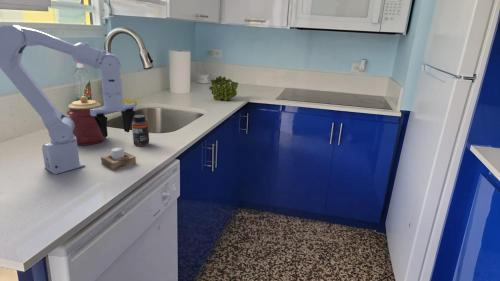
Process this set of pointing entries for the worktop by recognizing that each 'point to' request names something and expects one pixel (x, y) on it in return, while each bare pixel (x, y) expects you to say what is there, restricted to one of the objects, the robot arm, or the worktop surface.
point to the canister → (85, 121)
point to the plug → (117, 153)
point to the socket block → (118, 161)
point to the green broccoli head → (223, 88)
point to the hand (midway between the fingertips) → (116, 133)
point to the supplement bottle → (140, 131)
